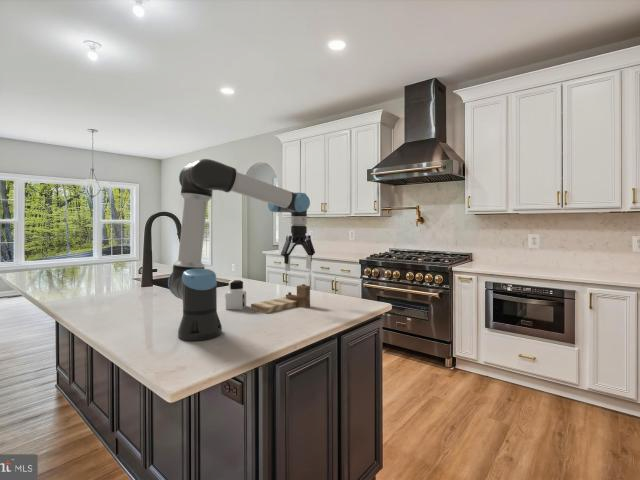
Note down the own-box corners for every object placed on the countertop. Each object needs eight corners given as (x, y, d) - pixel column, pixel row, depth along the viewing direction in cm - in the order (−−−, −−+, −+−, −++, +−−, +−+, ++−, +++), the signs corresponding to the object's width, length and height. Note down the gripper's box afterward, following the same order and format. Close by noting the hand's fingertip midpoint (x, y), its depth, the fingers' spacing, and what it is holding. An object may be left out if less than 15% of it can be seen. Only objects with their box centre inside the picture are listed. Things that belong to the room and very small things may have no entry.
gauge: (304, 308, 171) (304, 285, 171) (284, 303, 180) (284, 282, 180) (310, 306, 174) (310, 284, 174) (290, 302, 183) (290, 281, 183)
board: (265, 313, 161) (265, 308, 161) (250, 309, 169) (250, 304, 169) (306, 303, 180) (306, 298, 180) (291, 300, 188) (291, 295, 187)
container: (246, 306, 175) (246, 279, 174) (241, 310, 167) (241, 282, 167) (231, 305, 176) (230, 279, 175) (225, 309, 168) (225, 281, 167)
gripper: (284, 225, 161) (283, 272, 162) (322, 225, 179) (321, 268, 180) (273, 225, 166) (273, 270, 167) (311, 225, 184) (311, 266, 185)
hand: (298, 269), depth 173 cm, fingers open, 13 cm apart
